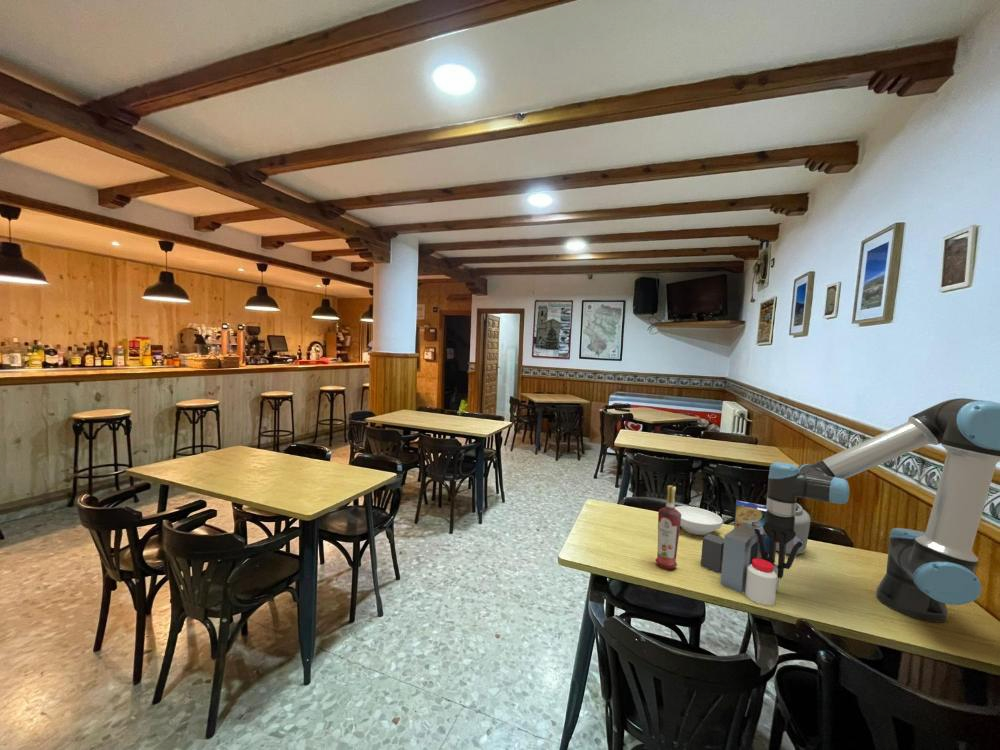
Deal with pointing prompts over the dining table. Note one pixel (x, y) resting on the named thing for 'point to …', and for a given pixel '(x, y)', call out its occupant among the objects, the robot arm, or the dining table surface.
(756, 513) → the blue food box
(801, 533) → the jar
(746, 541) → the block
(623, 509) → the dining table surface
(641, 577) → the dining table surface
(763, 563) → the pill bottle
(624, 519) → the dining table surface
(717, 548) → the hammer
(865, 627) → the dining table surface
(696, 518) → the bowl
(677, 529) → the red glass bottle
